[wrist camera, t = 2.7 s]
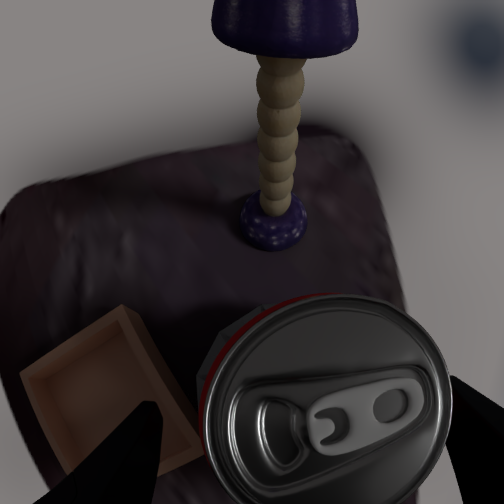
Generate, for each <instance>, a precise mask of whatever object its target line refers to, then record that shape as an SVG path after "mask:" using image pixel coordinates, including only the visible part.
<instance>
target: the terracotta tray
mask: <svg viewBox="0 0 504 504" xmlns="http://www.w3.org/2000/svg"><path fill="white" fill-rule="evenodd" d="M19 374H20V376H21V379H22V382H23V385H24V387H25V390H26V393H27V395H28V398H29V400H30V402H31V405H32V407H33V410H34V412H35V414H36V416H37V419H38V421H39V423H40V425H41V427H42V429H43V432H44V434H45V436H46V438H47V440H48V442H49V444H50V446H51V448H52V449H53V451H54V453H55V455H56V457H57V459H58V460H59V462H60V464H61V466H62V468H63V469H64V471H65V473H66V474H67V475H68V474H69V473H71V472H72V471H73V470H74V469H75V468H76V467H77V466H78V465H79V464H80V463H81V462H82V461H83V460H84V459H85V458H86V457H87V456H88V455H89V454H90V453H91V452H92V451H93V450H94V449H95V448H96V447H97V446H98V445H99V444H100V443H101V442H102V441H103V440H104V439H105V438H106V437H107V436H108V435H109V434H110V433H111V432H112V431H113V430H114V429H115V428H116V427H117V426H118V425H119V424H120V423H121V422H122V421H123V420H124V419H125V418H126V417H127V416H128V415H129V414H130V413H131V412H132V411H133V410H134V409H135V408H136V407H137V406H138V405H139V404H140V403H141V402H142V401H144V400H147V401H155V402H156V403H157V404H158V407H159V409H160V412H161V414H162V416H163V432H162V442H161V453H160V464H159V469H158V474H157V477H158V476H160V475H162V474H165V473H167V472H169V471H171V470H173V469H176V468H178V467H180V466H182V465H184V464H186V463H188V462H190V461H192V460H194V459H196V458H198V457H200V456H202V455H204V451H203V448H202V444H201V439H200V434H199V415H198V413H197V412H196V410H195V409H194V407H193V406H192V404H191V403H190V401H189V400H188V398H187V397H186V395H185V393H184V392H183V390H182V389H181V387H180V385H179V384H178V382H177V381H176V379H175V377H174V376H173V374H172V372H171V371H170V369H169V367H168V366H167V364H166V362H165V361H164V359H163V357H162V355H161V354H160V352H159V350H158V348H157V347H156V345H155V343H154V341H153V339H152V338H151V336H150V334H149V332H148V330H147V328H146V326H145V325H144V323H143V321H142V319H141V317H140V315H139V314H138V313H136V312H135V311H133V310H131V309H129V308H128V307H126V306H124V305H122V304H121V305H120V306H118V307H117V308H115V309H114V310H112V311H110V312H109V313H107V314H106V315H104V316H103V317H101V318H100V319H98V320H97V321H95V322H94V323H92V324H91V325H89V326H88V327H86V328H85V329H83V330H82V331H80V332H79V333H77V334H76V335H74V336H73V337H71V338H70V339H68V340H67V341H65V342H64V343H62V344H61V345H59V346H58V347H56V348H55V349H53V350H52V351H50V352H49V353H47V354H46V355H44V356H43V357H42V358H40V359H39V360H37V361H36V362H34V363H33V364H31V365H30V366H28V367H27V368H26V369H24V370H23V371H21V372H20V373H19Z"/></svg>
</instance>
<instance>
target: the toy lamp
mask: <svg viewBox="0 0 504 504" xmlns="http://www.w3.org/2000/svg"><path fill="white" fill-rule="evenodd" d="M211 23H212V31H213V33H214V35H215V36H216V38H217V39H219V41H221V42H222V43H223V44H225V45H227V46H230V47H231V48H235V49H237V50H238V51H242V52H246V53H249V54H253V55H256V57H257V60H258V63H259V64H260V66H261V68H260V69H259V72H258V74H257V79H256V86H257V92H258V94H259V97H260V98H261V99H260V101H259V104H258V108H257V118H258V122H259V125H260V128H259V131H258V136H257V142H258V147H259V150H260V154H259V158H258V165H259V169H260V172H261V174H260V178H259V186H260V189H261V190H258V191H256V192H255V193H254V194H252V195H251V196H250V197H249V198H248V199H247V200H246V202H245V203H244V205H243V207H242V210H241V213H240V218H239V222H240V229H241V231H242V234H243V236H244V237H245V238H246V240H248V241H249V242H250V243H251V244H252V245H254V246H256V247H258V248H260V249H263V250H268V251H281V250H284V249H287V248H289V247H291V246H293V245H294V244H296V243H297V242H298V241H300V239H301V238H302V237H303V235H304V234H305V231H306V229H307V214H306V210H305V208H304V206H303V204H302V202H301V200H300V199H299V198H298V197H297V196H295V195H294V194H293V193H292V192H291V189H292V187H293V175H292V173H293V172H294V169H295V166H296V157H295V153H294V152H295V150H296V147H297V144H298V132H297V129H296V127H297V126H298V123H299V120H300V116H301V107H300V102H299V99H300V97H301V95H302V93H303V89H304V75H303V71H302V69H301V68H302V67H303V66H304V64H305V62H306V60H307V59H312V58H322V57H327V56H332V55H337V54H339V53H341V52H344V51H346V50H348V49H350V48H351V47H352V45H353V44H354V43H355V42H356V40H357V37H358V31H359V29H358V15H357V7H356V0H215V1H214V5H213V11H212V18H211Z"/></svg>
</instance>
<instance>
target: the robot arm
mask: <svg viewBox="0 0 504 504" xmlns="http://www.w3.org/2000/svg"><path fill="white" fill-rule="evenodd" d="M450 380H451V386H452V396H453V409H452V419H451V425H450V429H449V434H448V437H447V440H446V443H445V444H446V447H447V450H448V453H449V456H450V459H451V462H452V466H453V469H454V472H455V475H456V479H457V482H458V486H459V489H460V493H461V497H462V501H463V504H504V408H502V407H501V406H499V405H498V404H496V403H495V402H493V401H492V400H490V399H489V398H487V397H486V396H484V395H482V394H481V393H479V392H478V391H477V390H475V389H474V388H472V387H470V386H469V385H467V384H466V383H464V382H462V381H461V380H460V379H458V378H457V377H455V376H450ZM162 432H163V416H162V414H161V412H160V409H159V407H158V404H157V403H156V402H155V401H147V400H144V401H142V402H141V403H140V404H139V405H138V406H137V407H136V408H135V409H134V410H133V411H132V412H131V413H130V414H129V415H128V416H127V417H126V418H125V419H124V420H123V421H122V422H121V423H120V424H119V425H118V426H117V427H116V428H115V429H114V430H113V431H112V432H111V433H110V434H109V435H108V436H107V437H106V438H105V439H104V440H103V441H102V442H101V443H100V444H99V445H98V446H97V447H96V448H95V449H94V450H93V451H92V452H91V453H90V454H89V455H88V456H87V457H86V458H85V459H84V460H83V461H82V462H81V463H80V464H79V465H78V466H77V467H76V468H75V469H74V470H73V471H72V472H71V473H69V474H68V475H67V476H66V477H65V478H64V479H63V480H62V481H61V482H60V483H59V484H58V485H57V486H55V487H54V488H53V489H52V490H50V491H49V492H48V493H47V494H46V495H44V496H43V497H41V498H40V499H39V500H37V501H36V502H34V503H33V504H151V503H152V498H153V493H154V488H155V483H156V479H157V474H158V469H159V464H160V453H161V442H162Z"/></svg>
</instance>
